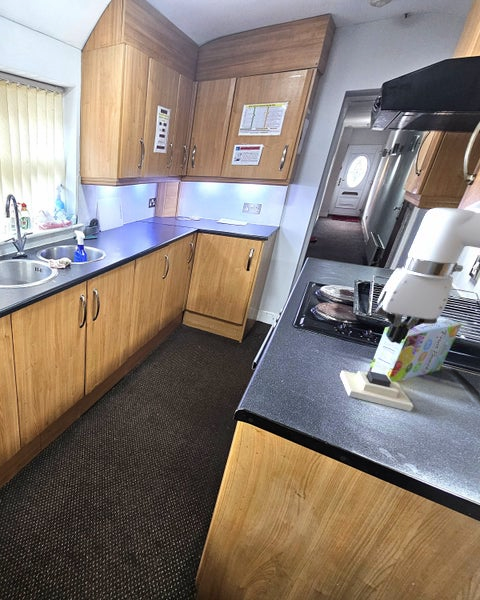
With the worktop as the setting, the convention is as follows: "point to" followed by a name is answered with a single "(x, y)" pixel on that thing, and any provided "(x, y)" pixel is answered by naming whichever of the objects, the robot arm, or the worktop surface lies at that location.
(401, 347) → the snack box
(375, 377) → the dark grey square block
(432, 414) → the worktop surface
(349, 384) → the cream stepped base
